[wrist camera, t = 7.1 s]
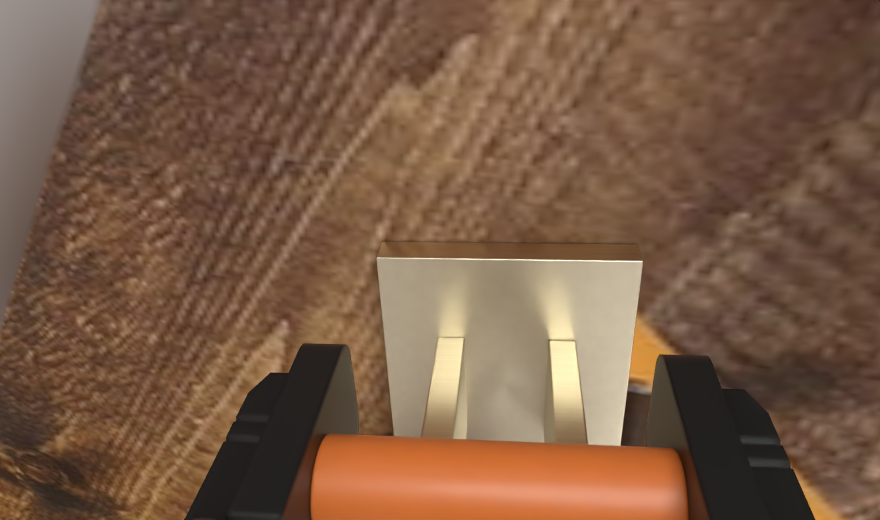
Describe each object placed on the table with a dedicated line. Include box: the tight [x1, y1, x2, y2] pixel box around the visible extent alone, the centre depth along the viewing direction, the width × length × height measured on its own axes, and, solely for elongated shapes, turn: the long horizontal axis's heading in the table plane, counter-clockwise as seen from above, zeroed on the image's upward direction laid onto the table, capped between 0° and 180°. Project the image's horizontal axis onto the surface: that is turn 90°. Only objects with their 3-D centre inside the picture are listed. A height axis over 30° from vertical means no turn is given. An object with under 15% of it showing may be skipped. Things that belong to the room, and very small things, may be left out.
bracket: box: [376, 242, 643, 446], centre depth 21 cm, size 11×9×13 cm
